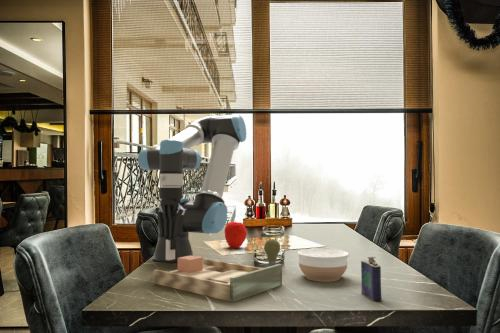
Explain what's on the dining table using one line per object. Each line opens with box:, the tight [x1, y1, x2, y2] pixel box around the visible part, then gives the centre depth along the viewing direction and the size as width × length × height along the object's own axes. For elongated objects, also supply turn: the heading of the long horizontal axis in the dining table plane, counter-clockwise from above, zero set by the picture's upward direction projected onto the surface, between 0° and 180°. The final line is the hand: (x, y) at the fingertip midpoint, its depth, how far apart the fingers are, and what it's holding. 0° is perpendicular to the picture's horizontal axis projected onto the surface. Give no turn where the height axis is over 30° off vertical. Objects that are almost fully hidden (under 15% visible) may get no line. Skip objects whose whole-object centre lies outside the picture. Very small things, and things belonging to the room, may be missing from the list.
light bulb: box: [263, 238, 281, 267], centre depth 151 cm, size 6×6×10 cm
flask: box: [360, 256, 383, 303], centre depth 114 cm, size 9×3×11 cm, turn 8°
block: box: [177, 255, 204, 273], centre depth 135 cm, size 6×6×4 cm
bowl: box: [297, 247, 350, 283], centre depth 136 cm, size 16×16×8 cm
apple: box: [224, 221, 248, 249], centre depth 193 cm, size 10×10×12 cm
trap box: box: [153, 258, 283, 303], centre depth 127 cm, size 31×22×6 cm
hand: (170, 259), depth 140 cm, fingers closed
